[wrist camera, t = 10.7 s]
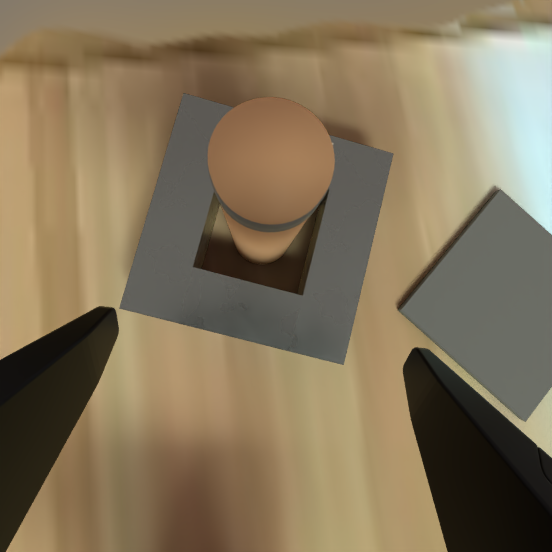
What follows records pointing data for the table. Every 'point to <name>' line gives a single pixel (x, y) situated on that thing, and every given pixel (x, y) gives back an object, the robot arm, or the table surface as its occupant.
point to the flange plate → (239, 293)
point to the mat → (494, 304)
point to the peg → (269, 173)
